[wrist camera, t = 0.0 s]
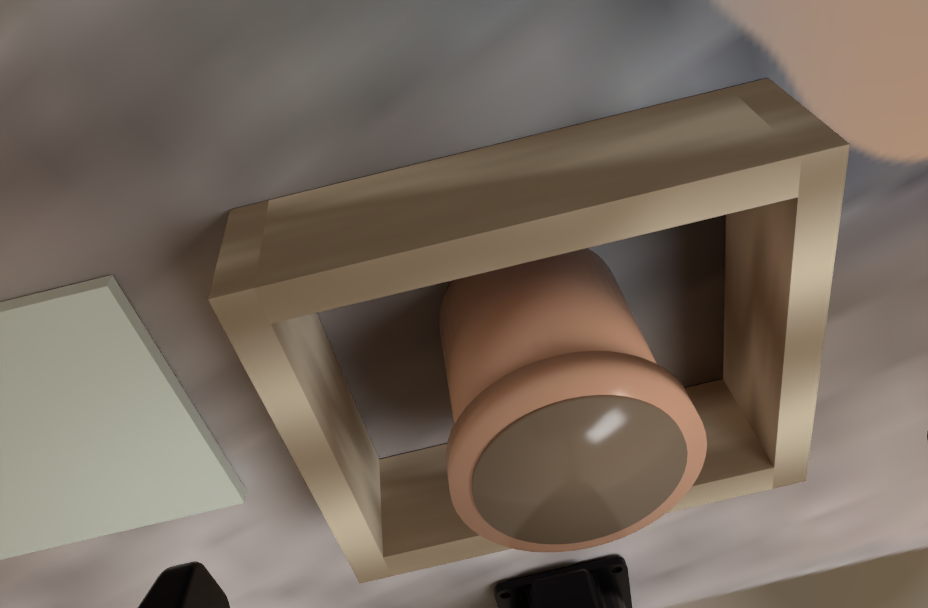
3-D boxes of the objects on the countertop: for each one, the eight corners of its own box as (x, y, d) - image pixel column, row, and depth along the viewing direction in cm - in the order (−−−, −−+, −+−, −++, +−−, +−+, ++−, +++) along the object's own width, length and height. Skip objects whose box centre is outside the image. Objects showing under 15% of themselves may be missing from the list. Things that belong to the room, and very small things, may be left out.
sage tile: (246, 490, 30) (244, 502, 29) (-16, 551, 30) (-21, 564, 30) (112, 275, 23) (107, 285, 23) (-223, 356, 23) (-235, 369, 23)
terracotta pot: (635, 363, 28) (709, 525, 23) (451, 407, 29) (477, 578, 23) (622, 203, 24) (709, 352, 18) (405, 255, 24) (422, 420, 18)
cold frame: (751, 393, 30) (805, 481, 27) (358, 484, 31) (359, 583, 27) (768, 77, 22) (849, 144, 18) (230, 209, 22) (207, 299, 19)
